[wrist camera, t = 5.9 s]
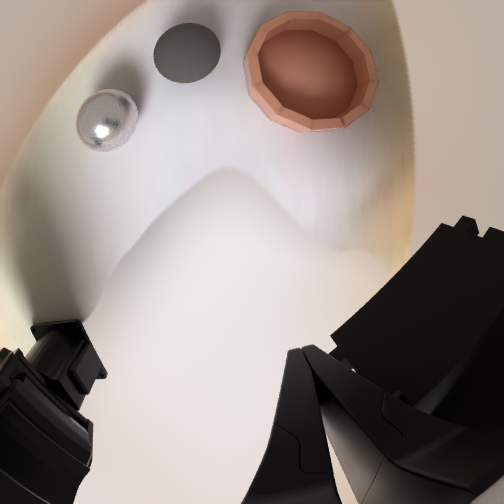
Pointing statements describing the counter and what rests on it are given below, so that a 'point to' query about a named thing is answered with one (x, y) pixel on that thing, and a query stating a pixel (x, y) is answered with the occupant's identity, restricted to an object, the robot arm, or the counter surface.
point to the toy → (437, 328)
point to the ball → (187, 53)
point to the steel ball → (106, 120)
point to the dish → (310, 72)
